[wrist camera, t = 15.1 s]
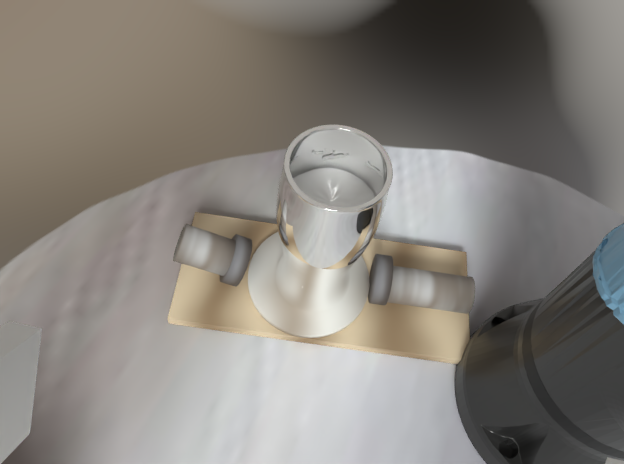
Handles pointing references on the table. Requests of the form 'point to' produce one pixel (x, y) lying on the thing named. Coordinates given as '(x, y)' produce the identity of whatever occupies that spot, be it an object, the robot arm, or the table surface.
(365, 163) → the beer glass
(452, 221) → the table surface
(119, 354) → the table surface
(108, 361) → the table surface
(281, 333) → the shaft cradle
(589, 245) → the table surface
